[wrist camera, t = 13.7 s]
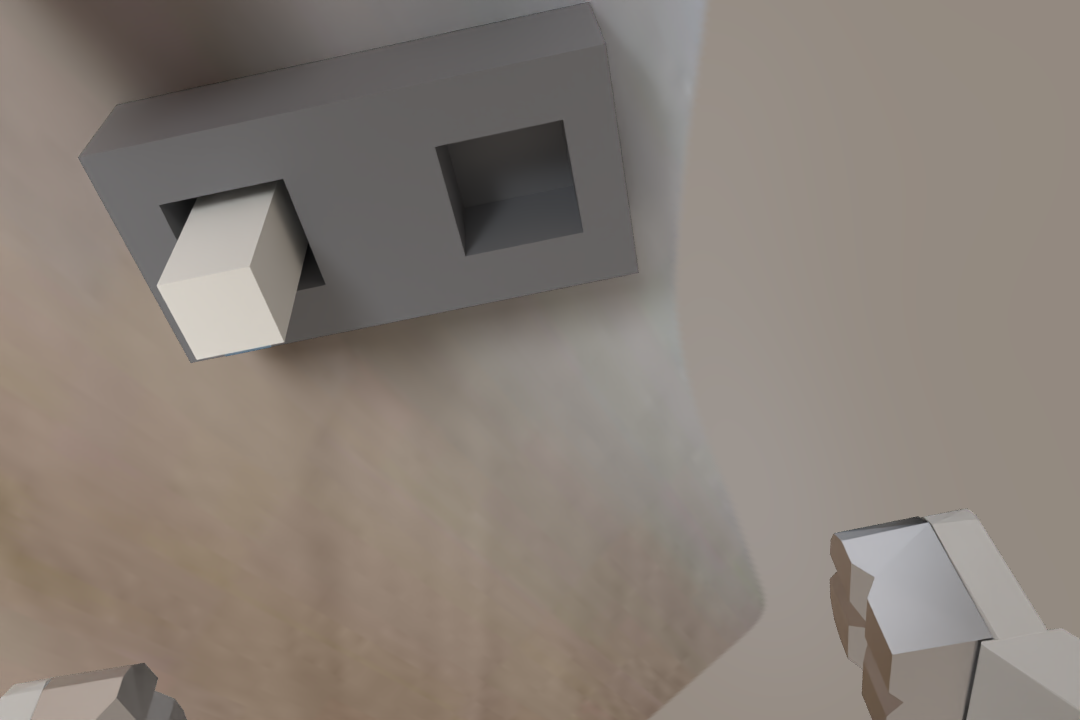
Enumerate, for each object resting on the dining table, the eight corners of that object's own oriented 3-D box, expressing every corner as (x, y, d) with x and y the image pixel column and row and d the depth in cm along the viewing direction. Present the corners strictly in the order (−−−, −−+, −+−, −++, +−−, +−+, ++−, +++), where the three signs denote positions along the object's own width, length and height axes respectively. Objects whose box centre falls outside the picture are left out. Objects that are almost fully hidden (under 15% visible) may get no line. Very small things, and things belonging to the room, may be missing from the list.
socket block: (116, 104, 38) (77, 157, 34) (589, 2, 37) (605, 43, 33) (213, 299, 44) (190, 362, 40) (621, 216, 43) (638, 272, 39)
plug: (209, 171, 39) (156, 285, 32) (286, 154, 39) (249, 266, 32) (244, 247, 42) (202, 370, 34) (316, 232, 41) (289, 352, 34)
